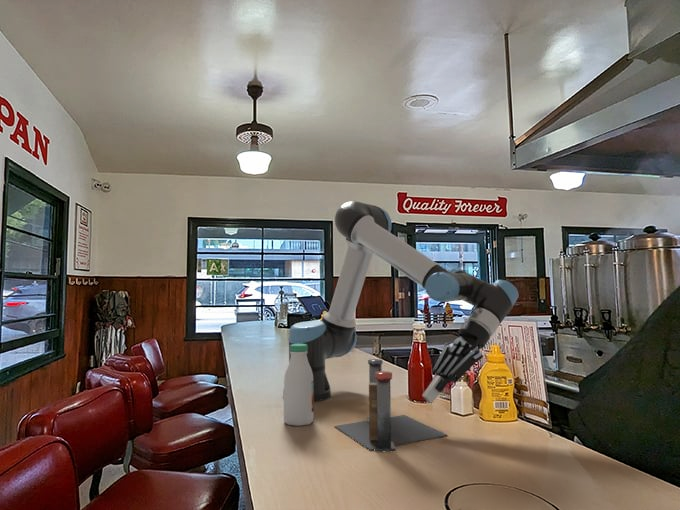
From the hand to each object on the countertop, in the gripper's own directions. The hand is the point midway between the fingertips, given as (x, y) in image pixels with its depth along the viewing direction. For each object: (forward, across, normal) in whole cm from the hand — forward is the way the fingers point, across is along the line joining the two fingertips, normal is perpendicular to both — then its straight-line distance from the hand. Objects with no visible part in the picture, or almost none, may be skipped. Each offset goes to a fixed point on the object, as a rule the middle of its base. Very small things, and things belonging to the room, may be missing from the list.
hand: (426, 399), depth 111 cm
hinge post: (+11, -11, 0) cm, 16 cm away
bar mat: (+12, -3, -1) cm, 12 cm away
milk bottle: (+24, -20, -13) cm, 34 cm away
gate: (+14, -3, -4) cm, 15 cm away
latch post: (+16, +6, -6) cm, 18 cm away
